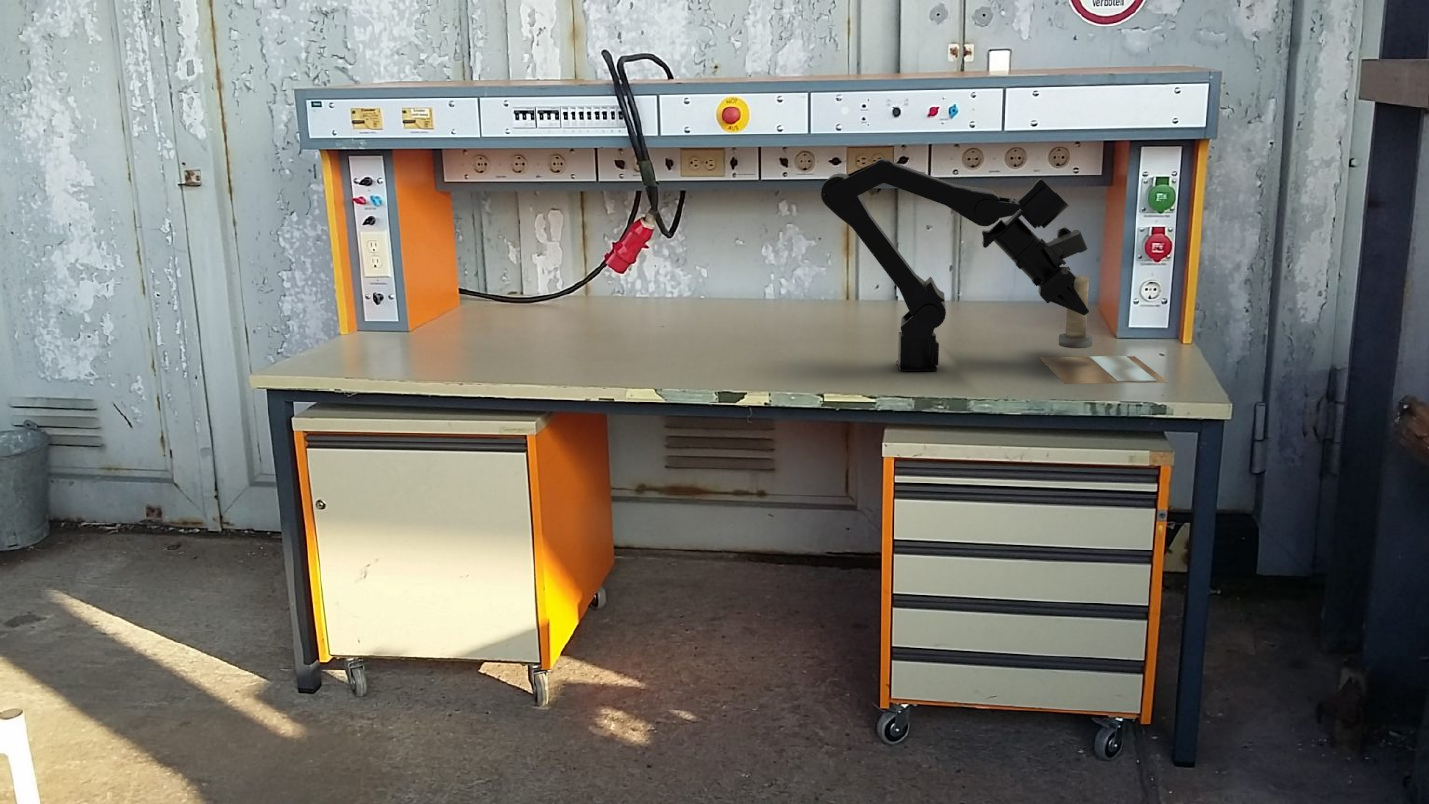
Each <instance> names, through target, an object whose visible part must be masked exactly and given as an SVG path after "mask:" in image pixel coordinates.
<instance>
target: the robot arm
mask: <svg viewBox="0 0 1429 804" xmlns="http://www.w3.org/2000/svg"><path fill="white" fill-rule="evenodd" d="M882 184H887V185H889V186H891V187H895V188H897V189H900V190H903V191H905V192H908V193H911V194H913V195H916V196H919V197H922V198H925V199H928V200H930V201H932V202H935V203H937V204H938V203H939V204H941V205H943V206H946V207H948V208H949V209H951V210H953V212H955V213H958V215H960V216H962V217H964V218H966V220H968V221H970V222H972V223H974V224H976V225H977V226H979V227H980V226H981V227H989V226H992V225H994V224H995V225H994V226H992V228H990V229H989V230H984V229H983V230H982V231H981V234H982V242H981V243H982V247H983V248H984V249H986V248H988V247H989V246H990V245H991V244H992V243H993V242H994V243H995V244H996V245H997V246H998V247H999V248H1000V249H1001V251H1003V253H1005V255H1007V257H1009V259H1010V260H1012V261H1013V263H1014V265H1015V266H1016V267H1017V268H1018V269H1019V270H1021V271H1022V272H1023V273H1024V274H1025V275H1026V276H1027V277H1028V278H1029V279H1030V280H1031V282H1032V284H1033V285H1034V286H1035V287H1038V290H1037V291H1038V294H1039V297H1041V298H1042V300H1044V302H1045V303H1047V304H1049V303H1053V304H1056V305H1058V306H1061V307H1063V308H1066V309H1067V308H1068V309H1070V310H1072V311H1075V312H1077V313H1079V314H1082V315H1086V314H1087V315H1088V313H1089V312H1090V310H1089V308H1088V306H1087V307H1086V305H1085V304H1084V302H1083V301H1082V299H1081V298H1080V296H1079V295H1078V293H1077V292H1076V290H1075V289H1074V282H1075V279H1076V277H1075V275H1076V274H1074V273H1073V272H1072V271H1071V268H1070V267H1069V266H1065V265H1066V264H1067V262H1066V260H1065V259H1067V258H1068V257H1071V256H1073V255H1077V254H1078V253H1079V254H1081V253H1083V252H1086V251H1087V250H1088V246H1087V244H1086V242H1085V239H1084V237H1083V235H1082V232H1081V230H1079V229H1073V231H1071V230H1070V229H1069V228H1068V227H1067V226H1064V227H1061V228H1059V229H1057V233H1056V235H1057V236H1056V237H1055V238H1053V240H1051V241H1049V242H1046V241H1045V240H1044V239H1043V238H1040V237H1039V236H1037V235H1036V234H1035V233H1034V232H1033V231H1032V230H1031V228H1029V227H1028V226H1027V224H1025V222H1023V220H1022V219H1020V218H1021V216H1022V217H1023V218H1024V220H1025V221H1027V222H1028V224H1029V225H1031V226H1032V228H1033V229H1037V228H1040V227H1042V228H1043V229H1046V228H1047V227H1048V226H1049V225H1051V223H1052V222H1053V221H1054V220H1056V219H1057V217H1059V215H1061V214H1062V213H1063V212H1064V211H1065V210H1066V209H1067V208H1068V207H1070V205H1069V204H1068V202H1066V200H1064V199H1063V198H1062V196H1060V194H1059V193H1058V192H1057V191H1056V190H1055V189H1054V188H1053V189H1052V187H1050V186H1049V185H1048V184H1047V183H1046V182H1045V181H1044V180H1043V179H1042V178H1038V179H1037V180H1036V181H1035V182H1034V183H1033V185H1032V186H1031V187H1030V188H1029V189H1028V190H1027V191H1026V192H1025V193H1024V194H1023V195H1022V196H1021V197H1019V198H1018V199H1016V198H1013V197H1002V196H999V195H998V194H997V193H996V192H995V191H993V190H992V189H987V188H982V187H976V186H971V185H963V184H962V185H961V184H957V183H952V182H949V181H946V180H944V179H941V178H938V177H936V176H933V175H929V174H928V173H925V172H921V171H918V170H916V169H914V168H911V167H908V166H906V165H903V164H899V163H898V162H897V163H896V162H895V161H893V160H891V159H890V158H886V157H882V158H879V159H877V160H876V161H875V162H873V163H871V164H868V165H865V166H863V167H861V168H859V169H856V170H854V171H853V172H850V173H848V174H846V173H841V172H840V173H834V174H832V175H830V176H829V177H828V178H827V179H826V180H825V182H824V183H823V185H822V187H821V192H820V196H821V200H822V202H823V204H824V205H825V206H826V207H827V208H828V209H829V210H830V211H831V212H833V214H835V216H837V217H838V218H839V219H841V220H842V221H843V222H845V223H846V224H847V225H848V226H849V227H851V228H852V229H853V231H854V232H855V234H856V235H857V236H858V238H859V239H860V240H861V241H862V242H863V244H864V245H865V247H867V249H868V251H869V252H870V253H871V254H872V256H873V257H874V258H875V260H876V261H877V262H878V264H879V265H880V266H881V267H882V269H883V270H884V271H885V273H886V274H887V275H888V277H889V278H890V279H891V281H892V282H893V283H894V284H895V286H896V287H897V289H898V290H899V292H900V294H901V296H902V298H903V301H904V303H905V305H906V307H907V309H908V311H907V312H905V314H904V315H903V316H902V317H901V320H900V321H901V322H900V331H899V332H898V345H897V346H898V349H897V352H898V353H897V354H898V355H897V360H896V361H895V362H896V366H897V367H898V370H899V371H900V372H936V371H938V367H937V366H938V365H939V360H940V359H939V352H940V350H939V349H940V343H939V342H938V340H937V334H936V333H935V332H934V331H935V329H937V328H938V327H941V325H942V324H944V321H945V319H946V314H947V310H946V309H947V308H946V302H945V301H946V300H945V292H943V291H941V290H940V289H939V288H938V286H937V284H936V283H935V281H934V278H933V277H932V276H930V277H928V278H927V279H926V280H924V279H923V278H922V277H920V276H919V275H917V274H916V272H915V271H914V270H913V268H912V267H911V266H910V264H909V263H908V262H907V261H906V259H905V258H904V257H903V255H902V254H901V252H899V250H898V248H897V247H896V245H894V243H893V242H892V241H891V240H890V238H889V237H888V236H887V234H886V232H884V230H883V229H882V228H881V226H880V225H879V224H878V222H877V221H876V220H875V219H874V217H873V216H872V215H871V213H870V211H869V209H868V207H867V205H866V202H865V200H864V198H863V195H862V194H865V193H866V192H868V191H870V190H872V189H875V188H876V187H878V186H881V185H882ZM1007 217H1009V218H1008V219H1007V220H1006V221H1004V220H1003V219H1002V218H1007ZM999 219H1000V220H999ZM1062 265H1063V266H1062Z"/></svg>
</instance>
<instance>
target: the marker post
mask: <svg viewBox="0 0 1429 804" xmlns="http://www.w3.org/2000/svg"><path fill="white" fill-rule="evenodd" d="M1074 275H1075V277H1076V279H1075V282H1074V289H1075V290H1076V292H1077V293H1078V295H1079V296H1080V298H1081V299H1082V301H1083V302H1084V304H1085V305H1086V307H1087V308H1088V306H1089V305H1088V304H1089V290H1090V289H1089V287H1090V286H1089V285H1090V276H1089V275H1088V276H1087V275H1082V274H1080V275H1079V274H1074ZM1087 319H1088V313H1087V314H1086V315H1082V314H1079V313H1077V312H1075V311H1072V310H1070V309H1068V308H1066V318H1065V322H1066V323H1065V333H1061V334H1059V336H1058V345H1059V346H1060V347H1062V348H1067V349H1087V348H1091V347H1092V346H1093V336H1092V335H1090V334H1087Z"/></svg>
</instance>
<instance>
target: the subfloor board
mask: <svg viewBox="0 0 1429 804" xmlns="http://www.w3.org/2000/svg"><path fill="white" fill-rule="evenodd" d="M1039 359H1040V361H1042V362H1043V363H1044V364H1045V366H1046V367H1048V368H1049V370H1050V371H1052V372H1053V374H1054V375H1056V377H1057V378H1058V379H1059V380H1060V381H1062V382H1063V383H1064V385H1075V384H1077V385H1079V384H1080V385H1081V384H1082V385H1083V384H1086V385H1089V384H1147V383H1148V384H1150V383H1152V384H1153V383H1158V384H1159V383H1160V384H1161V383H1169V381H1168V380H1167V379H1165V378H1164V377H1163V376H1162V375H1161V374H1158V372H1156V371H1155V370H1154V369H1152V368H1151V367H1150V366H1148V365H1147V364H1146V363H1144V362H1143V361H1141V360H1140V358H1138V357H1136V356H1135V355H1134V356H1133V355H1128V356H1127V355H1102V356H1101V355H1099V356H1098V355H1097V356H1094V355H1093V356H1066V357H1063V356H1062V357H1061V356H1060V357H1058V356H1057V357H1046V356H1045V357H1044V356H1043V357H1039Z"/></svg>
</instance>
